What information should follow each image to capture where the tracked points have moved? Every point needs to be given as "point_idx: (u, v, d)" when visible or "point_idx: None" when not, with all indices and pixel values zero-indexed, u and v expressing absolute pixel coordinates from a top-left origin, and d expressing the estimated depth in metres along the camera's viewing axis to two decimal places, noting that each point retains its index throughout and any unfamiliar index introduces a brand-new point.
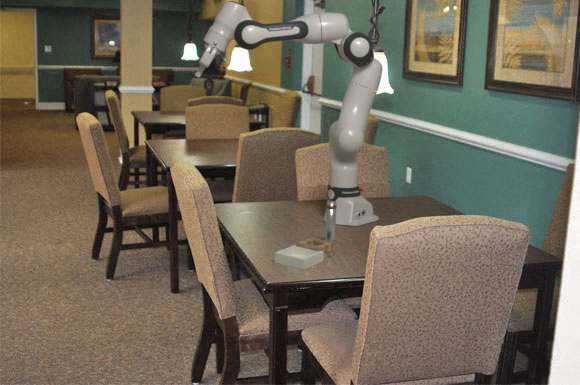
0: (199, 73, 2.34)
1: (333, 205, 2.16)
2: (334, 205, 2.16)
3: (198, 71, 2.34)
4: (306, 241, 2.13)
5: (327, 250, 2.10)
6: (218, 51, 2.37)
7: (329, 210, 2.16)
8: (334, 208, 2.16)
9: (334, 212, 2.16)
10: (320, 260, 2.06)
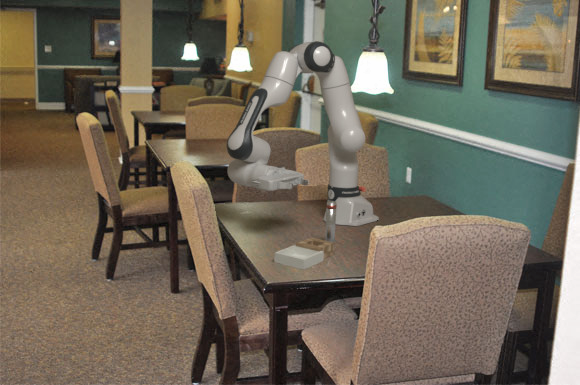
0: (287, 185, 2.19)
1: (333, 205, 2.16)
2: (334, 205, 2.16)
3: (285, 187, 2.19)
4: (306, 241, 2.13)
5: (327, 250, 2.10)
6: (269, 173, 2.27)
7: (329, 210, 2.16)
8: (334, 208, 2.16)
9: (334, 212, 2.16)
10: (320, 260, 2.06)
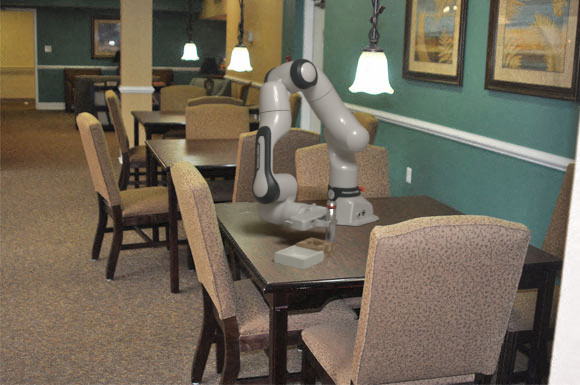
0: (324, 223, 2.16)
1: (333, 205, 2.16)
2: (334, 205, 2.16)
3: (323, 225, 2.16)
4: (306, 241, 2.13)
5: (327, 250, 2.10)
6: (301, 211, 2.22)
7: (329, 210, 2.16)
8: (334, 208, 2.16)
9: (334, 212, 2.16)
10: (320, 260, 2.06)
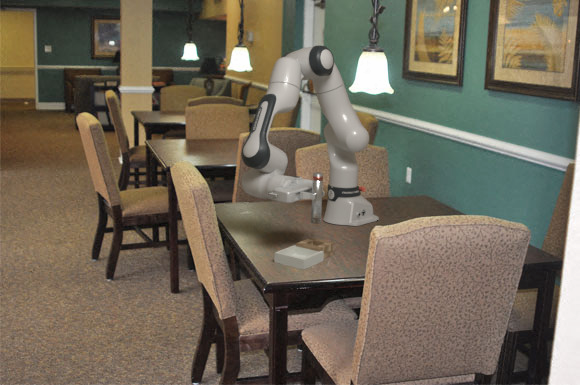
0: (310, 195, 2.06)
1: (319, 177, 2.06)
2: (320, 176, 2.06)
3: (308, 197, 2.07)
4: (306, 241, 2.13)
5: (327, 250, 2.10)
6: (286, 184, 2.12)
7: (315, 182, 2.06)
8: (320, 180, 2.06)
9: (320, 184, 2.07)
10: (320, 260, 2.06)
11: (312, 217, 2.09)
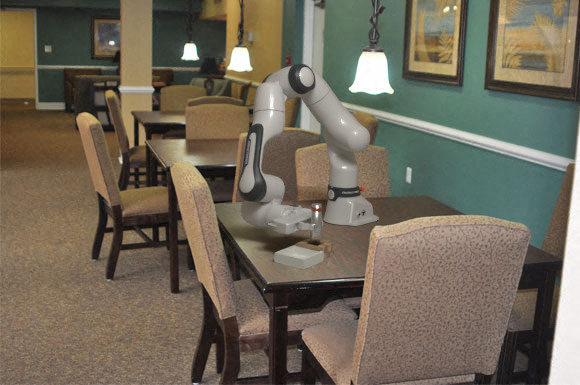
0: (309, 226, 2.09)
1: (318, 208, 2.08)
2: (319, 207, 2.08)
3: (307, 228, 2.09)
4: (306, 241, 2.13)
5: (327, 250, 2.10)
6: (285, 214, 2.15)
7: (314, 212, 2.08)
8: (319, 210, 2.08)
9: (319, 215, 2.09)
10: (320, 260, 2.06)
11: None
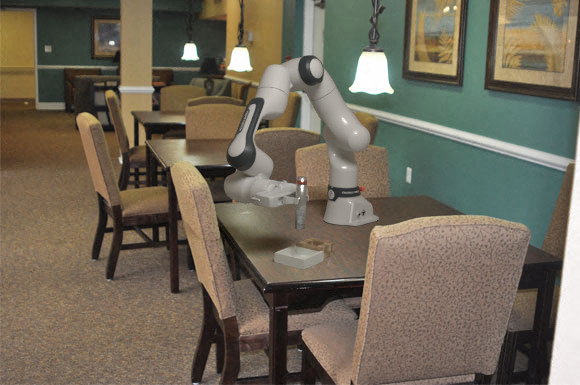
0: (293, 200, 1.99)
1: (303, 181, 1.99)
2: (304, 180, 1.99)
3: (292, 202, 2.00)
4: (306, 241, 2.13)
5: (327, 250, 2.10)
6: (269, 188, 2.05)
7: (299, 186, 1.99)
8: (304, 184, 1.99)
9: (304, 188, 2.00)
10: (320, 260, 2.06)
11: (296, 222, 2.02)
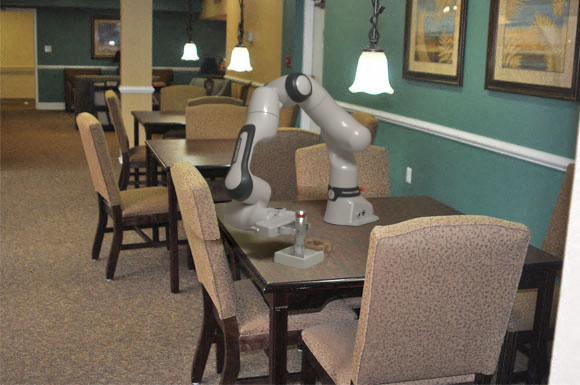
0: (290, 230, 2.00)
1: (302, 214, 2.01)
2: (303, 213, 2.01)
3: (289, 232, 2.00)
4: (306, 241, 2.13)
5: (327, 250, 2.10)
6: (268, 217, 2.07)
7: (298, 219, 2.01)
8: (303, 216, 2.01)
9: (303, 221, 2.02)
10: (320, 260, 2.06)
11: (295, 254, 2.04)
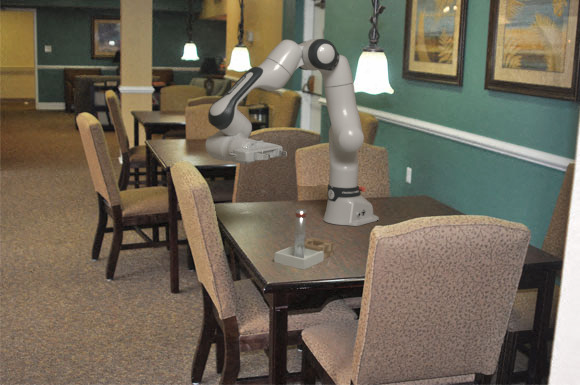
0: (264, 156, 2.15)
1: (302, 214, 2.01)
2: (303, 213, 2.01)
3: (262, 158, 2.15)
4: (306, 241, 2.13)
5: (327, 250, 2.10)
6: (246, 145, 2.23)
7: (298, 218, 2.01)
8: (303, 216, 2.01)
9: (303, 221, 2.02)
10: (320, 260, 2.06)
11: (295, 254, 2.04)
